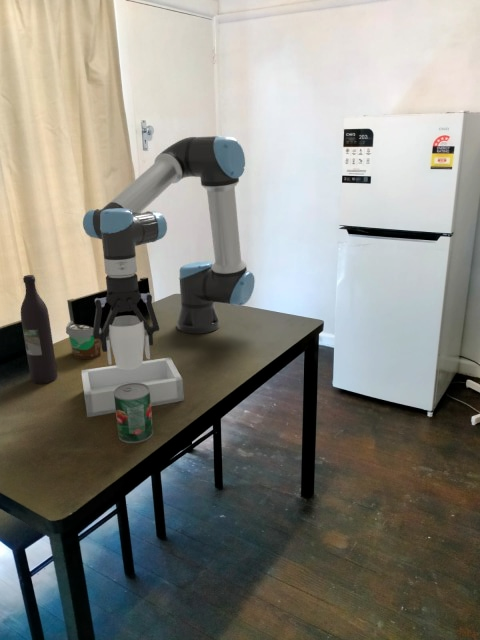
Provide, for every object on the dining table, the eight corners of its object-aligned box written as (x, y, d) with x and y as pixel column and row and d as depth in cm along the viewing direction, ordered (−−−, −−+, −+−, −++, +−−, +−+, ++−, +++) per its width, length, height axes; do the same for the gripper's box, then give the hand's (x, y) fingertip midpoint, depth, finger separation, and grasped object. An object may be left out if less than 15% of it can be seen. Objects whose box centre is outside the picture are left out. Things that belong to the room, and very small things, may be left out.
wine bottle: (30, 376, 146) (13, 274, 136) (55, 371, 149) (41, 271, 139) (32, 386, 140) (15, 280, 130) (59, 381, 143) (44, 277, 133)
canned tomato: (160, 432, 117) (157, 389, 113) (132, 447, 111) (128, 402, 108) (138, 421, 122) (135, 379, 118) (111, 434, 116) (106, 391, 113)
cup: (153, 359, 134) (149, 316, 130) (137, 373, 126) (133, 328, 122) (122, 356, 137) (118, 313, 133) (104, 370, 128) (100, 325, 124)
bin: (171, 376, 145) (170, 357, 143) (183, 400, 131) (182, 379, 129) (83, 390, 137) (81, 370, 135) (87, 417, 124) (84, 395, 122)
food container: (60, 356, 160) (56, 326, 156) (75, 349, 165) (71, 320, 161) (90, 363, 154) (86, 332, 151) (104, 356, 159) (100, 326, 156)
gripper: (75, 282, 117) (86, 371, 124) (168, 273, 123) (173, 359, 131) (74, 274, 123) (84, 360, 131) (162, 267, 130) (167, 348, 138)
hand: (129, 359), depth 131 cm, fingers closed on cup, 9 cm apart
